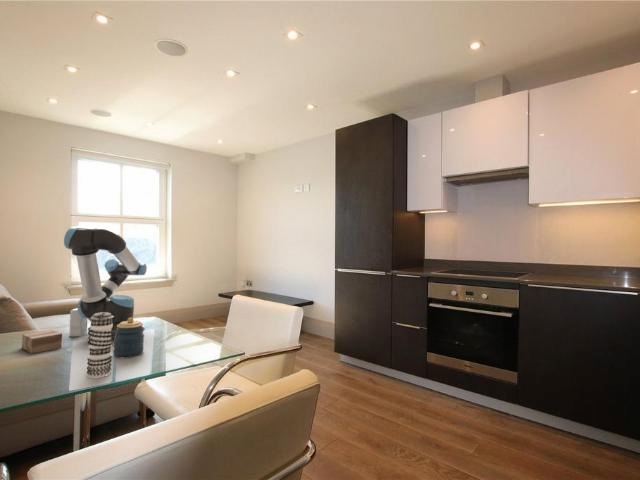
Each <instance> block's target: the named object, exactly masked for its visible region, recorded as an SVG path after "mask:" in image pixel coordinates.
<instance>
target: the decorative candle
mask: <svg viewBox="0 0 640 480" xmlns="http://www.w3.org/2000/svg"><path fill="white" fill-rule="evenodd" d="M113 317H114V316H112V315H111V313H109V312H100V313H95V314H94V315H93V316H92V317H91V321H90V325H89V327H87V335H88V337H87V343H88V347H87V348H88V349H89V352H88V358H87V360H86V361H87V363H86V365H87V367H86V377H87V378H89V379H98V378H99V379H101V378H104V377H107V376H110V375H111V374H112V372H111V371H112V357H113V356H112V346H113V342H114V341H113V339H111V337H113V336H114V335H113V334H111V333H113V332H114V331H113V330H112V327H113V328H114V327H115V326H113V323H112V318H113ZM106 375H107V376H106Z"/></svg>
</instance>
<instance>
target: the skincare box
mask: <svg viewBox="0 0 640 480" xmlns="http://www.w3.org/2000/svg"><path fill="white" fill-rule="evenodd" d="M69 312H70V315H69V316H70V317H69V335H68V336H69V337H82V336H83V335H85V334H88V318H83V317H81V316H80V315H79V313H78V307H77V308H73V309H71V310H70V311H69Z"/></svg>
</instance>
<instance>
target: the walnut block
mask: <svg viewBox="0 0 640 480" xmlns="http://www.w3.org/2000/svg"><path fill="white" fill-rule="evenodd" d="M21 339H22V340H21V349H23V350H24V351H26V350H27V351H26V352H28V351H29V353H30V352H31V353H30V354H34V353H33V352H35V353H40V352H46V351H51V350H54V349H55V350H56V349H60V348H62V347H63V345H62V341H63V333H61V332H58V331H55V330H54V329H49V330H48V329H47V330H42V331H35V332H30V333H29V332H28V333H23V334H22V338H21ZM39 351H40V352H39Z"/></svg>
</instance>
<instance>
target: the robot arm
mask: <svg viewBox="0 0 640 480" xmlns="http://www.w3.org/2000/svg"><path fill="white" fill-rule="evenodd" d="M63 237H64V238H63V246H64V247H65V249H67V250H70V251H71V254H72V255H73V256H74V257H76V260H77V267H78V272H79V273H78V274H79V276H80V277H79V279H80V283H81V287H82V292H83V293H82V294H83V295H81V297H80V299H79V300H78V302H77V308H78V313H79V315H80V316H81V317H83V318H87V321H89V322H91V317H92V316H93V315H94V314H95V313H100V312H109V313H111V315H112V316H114V317H113V318H112V323H113V326H115V327H114V328H113V327H112V330H113V331H114V330H115V329H117V328H118V327H117V325H118V324H120V323H121V322H124V321H127V320H128V318H133V319H134V309H135V299H134V298H133V297H132V296H129V295H125V294H124V295H123V294H114V293H115V292H116V290H117V289H118V288H119V287H120V286H121V285H122V284H123V283H124V282H125V281H126V280H127V278H128V277H129V276H144V275H146V273H147V264H146V263H143V262H141V263H140V262H139V260H138V259H137V258H136V257H135V256H134V255H133V252H131V251H130V249H129V248H128V247H127V242H126V241H125V239H124V238H123V237H122V236H121V235H120V234H118V233H116V232H115V231H114V230H112V229H110V228H107V227H96V226H95V227H94V226H82V225H81V226H71V227H69V228H68V230H67V231H66V232H65V234H64V236H63ZM99 251H106V252H108V253H109V254H112V255H114V257H115V258H116V259H115V258H111V259H108V260H107V261H105V262H104V268H105V271H106V272H107V274H108V275H109V279H107V280H106V281H105V282H104V283H103V285H102V282H101V276H100V270H99V269H100V268H99V264H98V258H97V253H98V252H99ZM111 334H113V335H114V336H113V337H111V339H113V341H112V342H114V337H115V334H116V333H115V332H113V333H111Z"/></svg>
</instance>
